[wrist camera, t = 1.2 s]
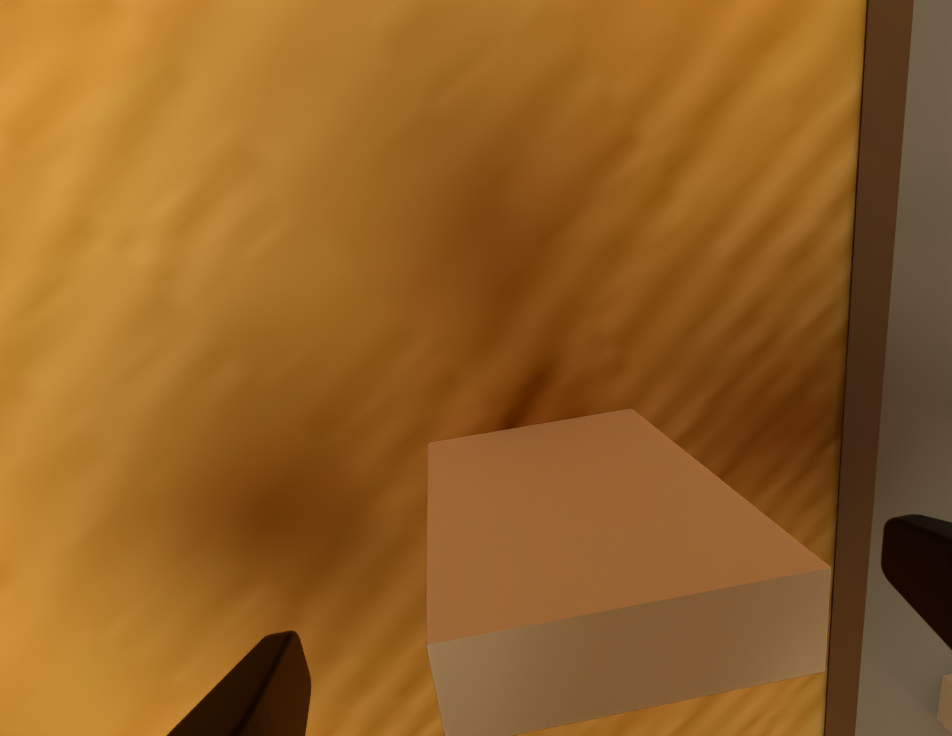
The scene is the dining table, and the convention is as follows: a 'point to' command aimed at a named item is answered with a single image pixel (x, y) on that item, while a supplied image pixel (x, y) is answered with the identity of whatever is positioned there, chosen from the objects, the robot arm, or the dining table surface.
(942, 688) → the domino
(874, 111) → the metal plate
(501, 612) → the domino
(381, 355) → the dining table surface
